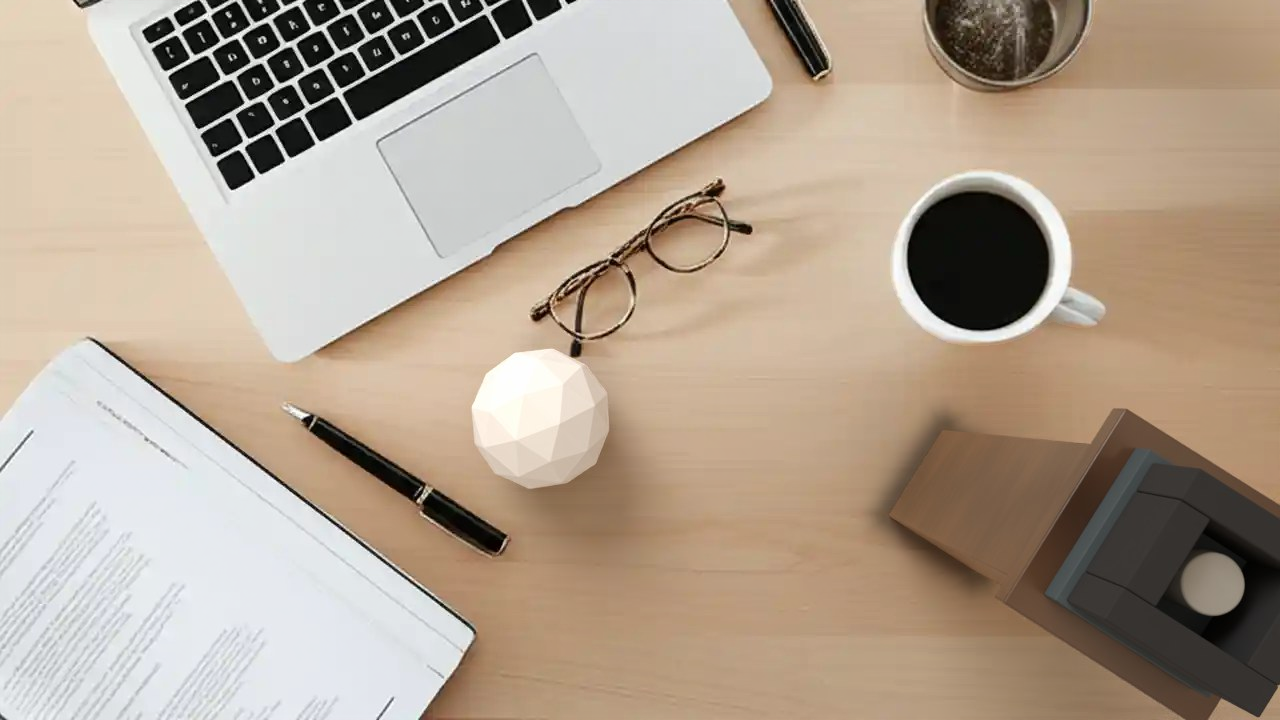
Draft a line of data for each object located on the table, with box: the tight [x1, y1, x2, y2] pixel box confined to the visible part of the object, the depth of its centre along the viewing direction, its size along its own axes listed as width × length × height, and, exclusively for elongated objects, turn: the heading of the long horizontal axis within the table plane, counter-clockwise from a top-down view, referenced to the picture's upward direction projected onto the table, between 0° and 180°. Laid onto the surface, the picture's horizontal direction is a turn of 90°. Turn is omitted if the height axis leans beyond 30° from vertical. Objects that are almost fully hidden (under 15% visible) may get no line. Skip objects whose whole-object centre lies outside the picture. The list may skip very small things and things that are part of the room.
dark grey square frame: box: [1067, 463, 1280, 718], centre depth 37 cm, size 6×6×3 cm
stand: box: [888, 407, 1280, 720], centre depth 54 cm, size 8×8×28 cm
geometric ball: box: [471, 348, 610, 490], centre depth 65 cm, size 8×8×8 cm
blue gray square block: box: [1044, 448, 1248, 698], centre depth 38 cm, size 6×6×4 cm
